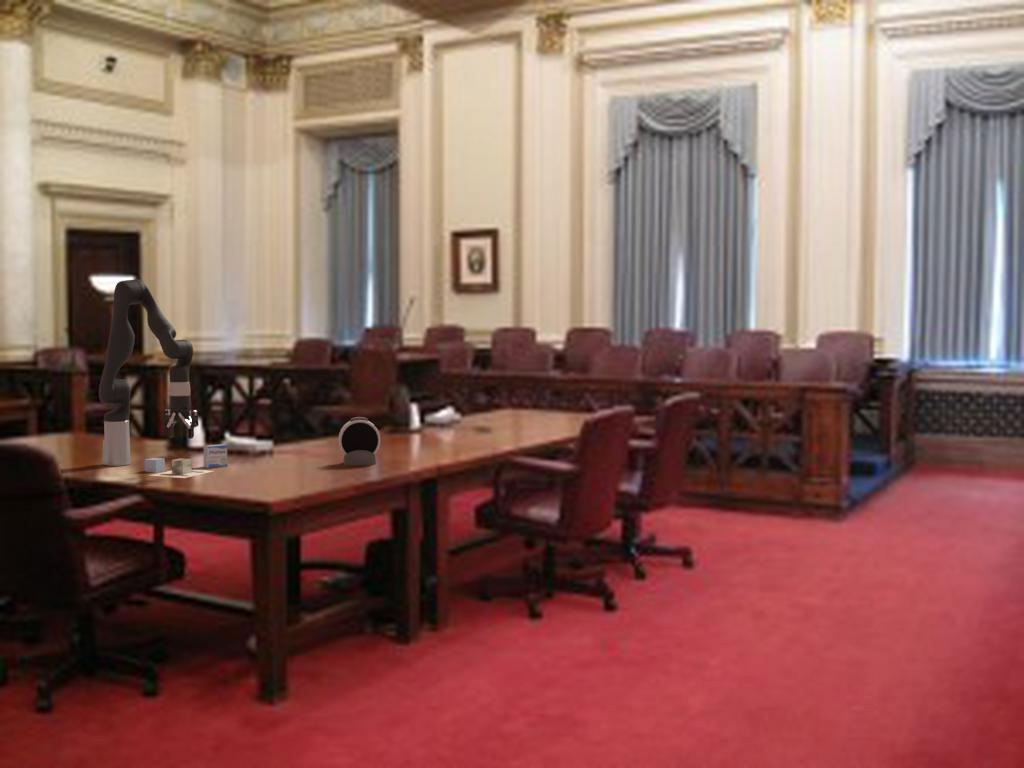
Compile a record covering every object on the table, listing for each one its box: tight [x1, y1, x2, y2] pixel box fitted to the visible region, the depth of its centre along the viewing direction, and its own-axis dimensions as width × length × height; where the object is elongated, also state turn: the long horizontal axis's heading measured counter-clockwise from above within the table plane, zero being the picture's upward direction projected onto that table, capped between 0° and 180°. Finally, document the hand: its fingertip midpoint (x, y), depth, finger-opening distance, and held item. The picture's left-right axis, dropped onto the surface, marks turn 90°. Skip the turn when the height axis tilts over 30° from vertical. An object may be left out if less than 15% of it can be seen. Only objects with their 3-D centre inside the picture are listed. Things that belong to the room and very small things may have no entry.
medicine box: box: [202, 443, 228, 469], centre depth 447 cm, size 8×4×9 cm, turn 126°
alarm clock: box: [338, 416, 381, 466], centre depth 457 cm, size 16×10×18 cm, turn 101°
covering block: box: [171, 458, 193, 474], centre depth 430 cm, size 5×5×5 cm
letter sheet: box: [148, 469, 214, 479], centre depth 430 cm, size 16×18×1 cm
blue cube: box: [144, 457, 166, 473], centre depth 436 cm, size 5×5×5 cm
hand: (181, 438), depth 429 cm, fingers open, 8 cm apart
